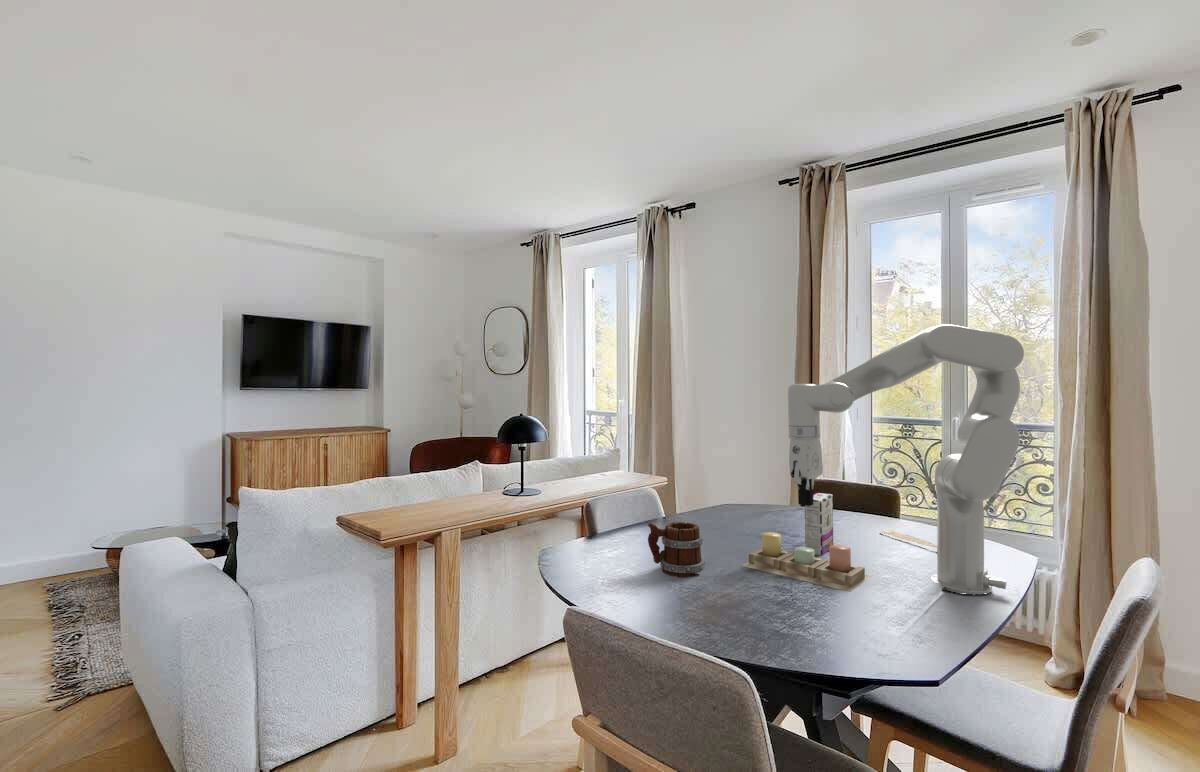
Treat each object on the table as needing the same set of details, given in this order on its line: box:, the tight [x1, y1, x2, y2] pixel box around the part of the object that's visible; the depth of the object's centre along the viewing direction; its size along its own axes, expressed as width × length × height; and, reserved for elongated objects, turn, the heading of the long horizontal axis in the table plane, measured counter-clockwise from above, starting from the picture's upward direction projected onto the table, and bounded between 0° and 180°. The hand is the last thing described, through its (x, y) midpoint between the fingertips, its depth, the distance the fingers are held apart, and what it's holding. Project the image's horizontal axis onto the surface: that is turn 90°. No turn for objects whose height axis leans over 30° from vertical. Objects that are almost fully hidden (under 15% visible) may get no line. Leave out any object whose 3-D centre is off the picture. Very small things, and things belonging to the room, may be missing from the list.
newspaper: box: [880, 529, 937, 548], centre depth 179 cm, size 24×7×2 cm, turn 17°
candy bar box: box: [804, 492, 834, 556], centre depth 169 cm, size 11×5×16 cm, turn 143°
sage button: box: [793, 546, 815, 565], centre depth 150 cm, size 5×5×5 cm
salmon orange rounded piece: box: [828, 544, 852, 571], centre depth 144 cm, size 5×5×5 cm
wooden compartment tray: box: [741, 547, 872, 592], centre depth 150 cm, size 28×14×4 cm, turn 47°
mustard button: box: [761, 531, 782, 556], centre depth 156 cm, size 5×5×5 cm
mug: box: [647, 521, 706, 578], centre depth 154 cm, size 12×14×15 cm
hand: (805, 504), depth 150 cm, fingers closed
